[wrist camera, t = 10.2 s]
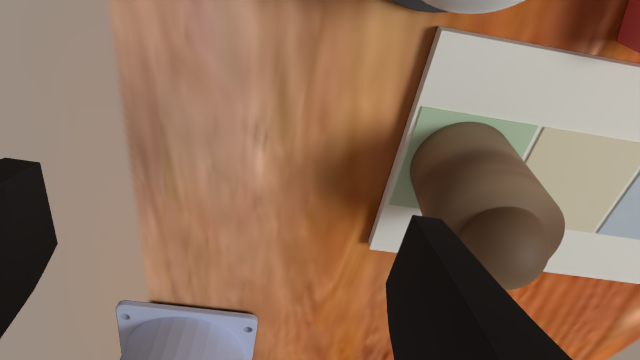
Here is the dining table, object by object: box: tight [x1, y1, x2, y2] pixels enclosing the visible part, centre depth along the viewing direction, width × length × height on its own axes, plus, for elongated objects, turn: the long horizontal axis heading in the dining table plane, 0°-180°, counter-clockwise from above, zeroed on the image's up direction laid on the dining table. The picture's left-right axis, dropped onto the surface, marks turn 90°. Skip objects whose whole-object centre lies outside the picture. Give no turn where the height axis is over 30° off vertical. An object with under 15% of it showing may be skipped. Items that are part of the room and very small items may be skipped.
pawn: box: [410, 122, 565, 290], centre depth 16 cm, size 4×4×6 cm
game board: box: [368, 26, 640, 284], centre depth 20 cm, size 11×16×1 cm
